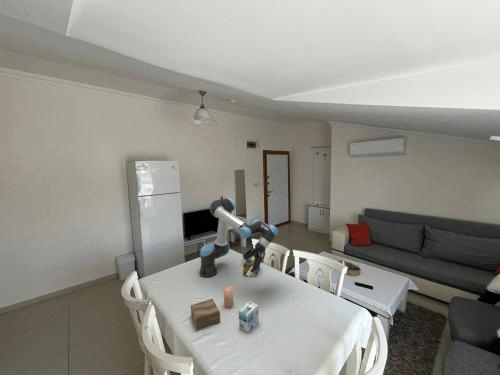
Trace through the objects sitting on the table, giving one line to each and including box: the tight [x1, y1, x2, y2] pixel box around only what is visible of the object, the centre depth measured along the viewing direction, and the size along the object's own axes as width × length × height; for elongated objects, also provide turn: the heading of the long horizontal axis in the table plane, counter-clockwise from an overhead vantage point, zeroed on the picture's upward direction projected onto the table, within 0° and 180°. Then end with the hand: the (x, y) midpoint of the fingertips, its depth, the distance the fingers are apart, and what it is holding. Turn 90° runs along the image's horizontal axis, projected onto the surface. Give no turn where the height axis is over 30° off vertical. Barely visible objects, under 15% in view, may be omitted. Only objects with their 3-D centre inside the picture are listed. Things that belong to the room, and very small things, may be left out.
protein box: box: [242, 256, 261, 279], centre depth 185 cm, size 10×15×16 cm
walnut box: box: [190, 298, 221, 331], centre depth 131 cm, size 14×14×7 cm
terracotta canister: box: [223, 285, 234, 309], centre depth 143 cm, size 6×6×12 cm
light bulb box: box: [238, 301, 260, 334], centre depth 125 cm, size 11×7×11 cm, turn 143°
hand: (243, 271), depth 145 cm, fingers open, 13 cm apart
